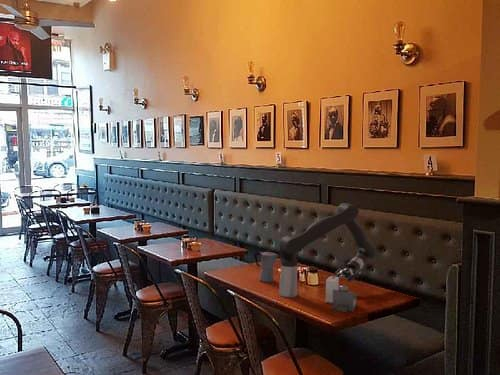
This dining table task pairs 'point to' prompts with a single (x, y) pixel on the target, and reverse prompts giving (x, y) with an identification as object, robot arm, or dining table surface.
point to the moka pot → (266, 265)
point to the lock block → (331, 288)
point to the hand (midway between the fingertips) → (341, 279)
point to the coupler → (344, 299)
